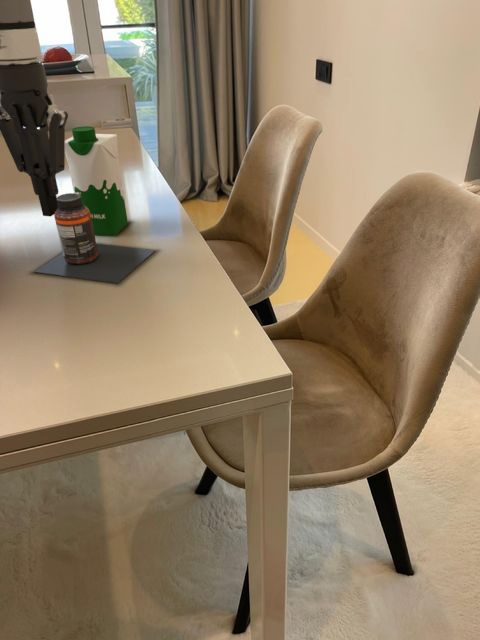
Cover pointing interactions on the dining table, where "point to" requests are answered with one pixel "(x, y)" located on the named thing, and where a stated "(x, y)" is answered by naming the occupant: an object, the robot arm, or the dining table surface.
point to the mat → (100, 264)
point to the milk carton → (97, 178)
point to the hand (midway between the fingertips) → (51, 213)
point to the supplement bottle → (75, 229)
